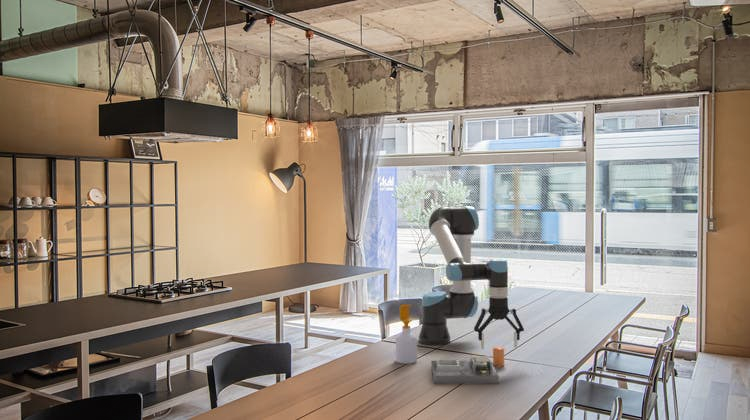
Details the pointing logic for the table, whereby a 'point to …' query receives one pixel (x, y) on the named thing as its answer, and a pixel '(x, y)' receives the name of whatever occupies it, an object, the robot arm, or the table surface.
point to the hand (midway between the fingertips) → (499, 348)
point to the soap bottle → (406, 340)
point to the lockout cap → (498, 356)
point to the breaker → (481, 359)
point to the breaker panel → (463, 372)
